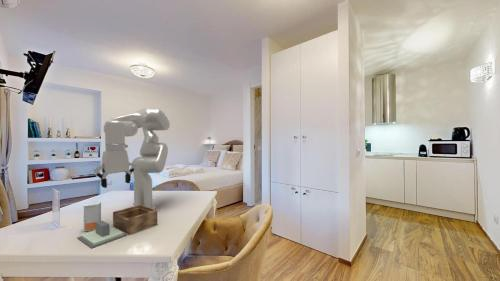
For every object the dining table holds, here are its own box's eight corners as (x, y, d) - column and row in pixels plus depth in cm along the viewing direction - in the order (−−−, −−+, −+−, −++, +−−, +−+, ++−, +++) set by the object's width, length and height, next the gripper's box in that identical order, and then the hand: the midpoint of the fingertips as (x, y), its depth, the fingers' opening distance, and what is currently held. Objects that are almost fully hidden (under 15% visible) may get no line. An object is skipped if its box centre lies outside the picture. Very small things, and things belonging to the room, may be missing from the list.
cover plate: (93, 245, 81) (93, 231, 81) (80, 237, 88) (80, 224, 88) (123, 234, 90) (123, 222, 90) (109, 227, 97) (109, 216, 97)
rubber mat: (77, 238, 88) (77, 237, 88) (111, 227, 99) (111, 226, 99) (91, 248, 80) (91, 247, 80) (127, 235, 90) (127, 234, 90)
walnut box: (129, 234, 91) (129, 218, 91) (113, 226, 100) (112, 212, 100) (157, 224, 102) (157, 210, 102) (139, 217, 111) (139, 204, 111)
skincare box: (83, 232, 94) (83, 205, 94) (85, 228, 98) (85, 203, 98) (99, 229, 97) (99, 203, 97) (101, 226, 101) (101, 201, 100)
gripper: (131, 146, 104) (132, 180, 104) (89, 148, 90) (90, 188, 90) (138, 147, 99) (139, 182, 100) (96, 149, 85) (97, 190, 86)
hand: (116, 185), depth 95 cm, fingers open, 9 cm apart
